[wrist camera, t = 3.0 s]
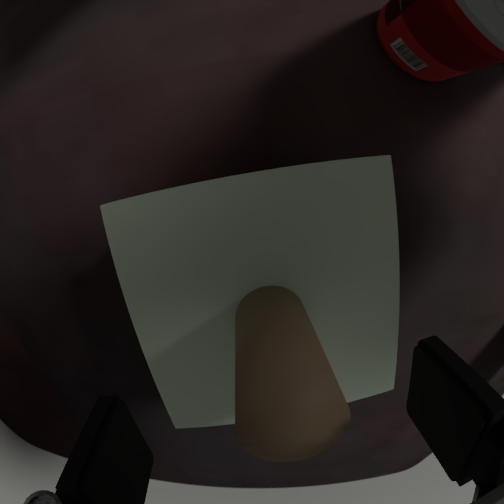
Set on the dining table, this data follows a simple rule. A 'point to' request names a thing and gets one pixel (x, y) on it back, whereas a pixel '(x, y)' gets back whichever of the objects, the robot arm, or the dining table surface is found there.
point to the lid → (265, 298)
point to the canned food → (442, 36)
